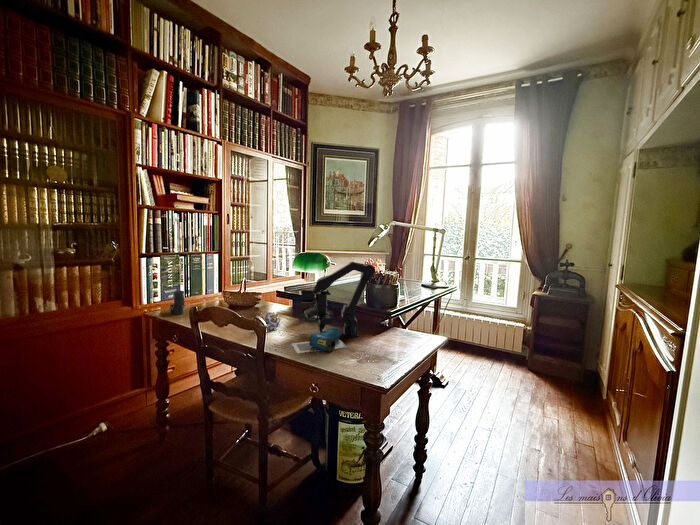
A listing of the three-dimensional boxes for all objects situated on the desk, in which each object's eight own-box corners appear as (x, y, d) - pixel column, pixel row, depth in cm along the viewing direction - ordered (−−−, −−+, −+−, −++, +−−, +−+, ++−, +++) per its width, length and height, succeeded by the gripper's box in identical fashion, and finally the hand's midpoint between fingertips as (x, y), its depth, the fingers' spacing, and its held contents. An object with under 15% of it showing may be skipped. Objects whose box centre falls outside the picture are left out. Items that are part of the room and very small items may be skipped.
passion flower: (274, 340, 170) (269, 326, 162) (258, 332, 174) (252, 319, 166) (286, 324, 177) (282, 310, 169) (271, 317, 181) (266, 304, 173)
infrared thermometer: (351, 342, 157) (327, 353, 140) (329, 337, 164) (304, 346, 147) (352, 330, 157) (328, 339, 140) (330, 325, 164) (305, 333, 147)
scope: (179, 289, 197) (189, 291, 192) (180, 310, 198) (190, 313, 194) (166, 291, 190) (176, 293, 185) (167, 313, 191) (177, 316, 187)
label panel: (338, 338, 161) (338, 338, 161) (347, 347, 150) (347, 346, 150) (291, 343, 151) (291, 343, 151) (297, 353, 140) (297, 353, 140)
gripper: (301, 299, 168) (301, 328, 170) (311, 308, 151) (310, 340, 153) (321, 298, 173) (321, 326, 174) (333, 307, 155) (332, 337, 157)
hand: (320, 332), depth 165 cm, fingers closed
